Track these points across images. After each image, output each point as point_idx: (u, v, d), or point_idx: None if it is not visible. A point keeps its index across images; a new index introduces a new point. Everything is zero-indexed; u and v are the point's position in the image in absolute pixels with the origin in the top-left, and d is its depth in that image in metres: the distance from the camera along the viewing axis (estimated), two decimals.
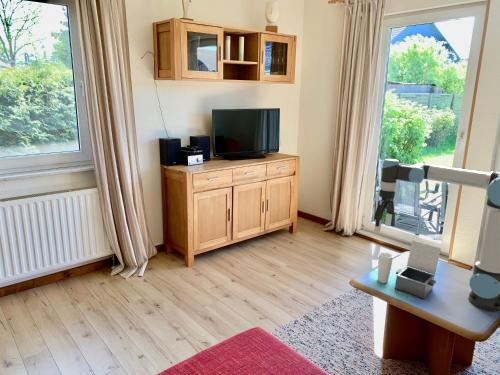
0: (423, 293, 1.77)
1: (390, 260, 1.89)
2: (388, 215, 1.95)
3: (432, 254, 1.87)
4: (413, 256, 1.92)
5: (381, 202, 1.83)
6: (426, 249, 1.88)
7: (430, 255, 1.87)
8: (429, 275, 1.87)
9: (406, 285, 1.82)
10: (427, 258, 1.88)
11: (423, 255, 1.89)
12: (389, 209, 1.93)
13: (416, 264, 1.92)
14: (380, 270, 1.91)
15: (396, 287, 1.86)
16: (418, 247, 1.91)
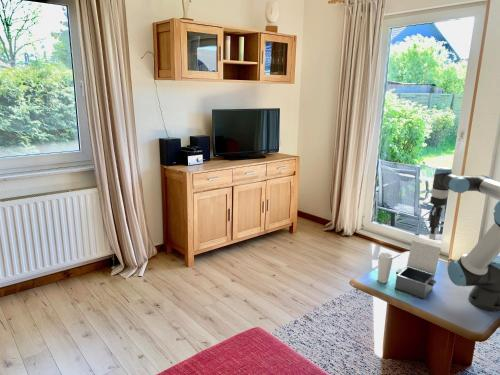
0: (423, 293, 1.77)
1: (390, 260, 1.89)
2: None
3: (432, 254, 1.87)
4: (413, 256, 1.92)
5: (433, 213, 1.88)
6: (426, 249, 1.88)
7: (430, 255, 1.87)
8: (429, 275, 1.87)
9: (406, 285, 1.82)
10: (427, 258, 1.88)
11: (423, 255, 1.89)
12: None
13: (416, 264, 1.92)
14: (380, 270, 1.91)
15: (396, 287, 1.86)
16: (418, 247, 1.91)
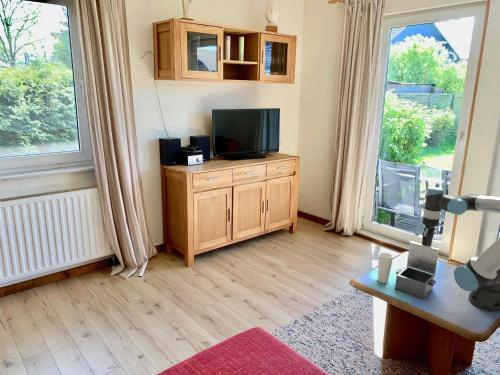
0: (423, 293, 1.77)
1: (390, 260, 1.89)
2: None
3: (431, 255, 1.85)
4: (413, 257, 1.92)
5: (425, 235, 1.84)
6: (424, 250, 1.87)
7: (429, 256, 1.86)
8: (429, 275, 1.87)
9: (406, 285, 1.82)
10: (426, 259, 1.87)
11: (422, 256, 1.88)
12: None
13: (416, 264, 1.91)
14: (380, 270, 1.91)
15: (396, 287, 1.86)
16: (416, 248, 1.89)
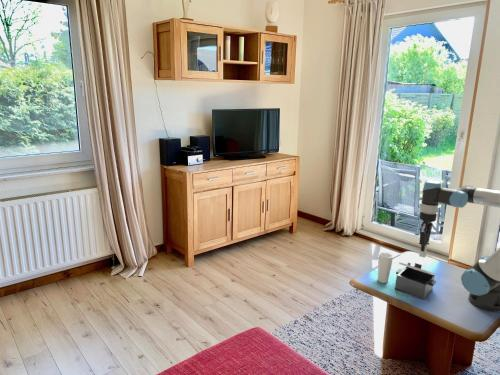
0: (423, 293, 1.77)
1: (390, 260, 1.89)
2: None
3: None
4: None
5: (423, 230, 1.78)
6: None
7: None
8: (429, 275, 1.87)
9: (406, 285, 1.82)
10: None
11: None
12: None
13: None
14: (380, 270, 1.91)
15: (396, 287, 1.86)
16: None
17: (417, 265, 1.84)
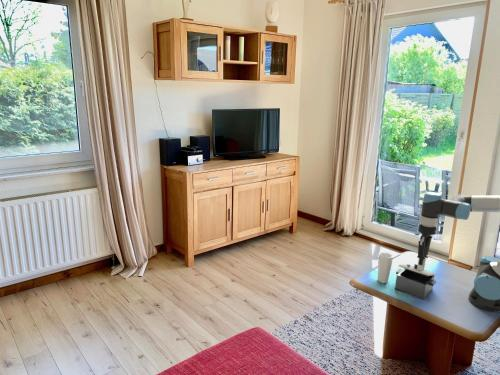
0: (423, 293, 1.77)
1: (390, 260, 1.89)
2: None
3: None
4: None
5: (421, 243, 1.71)
6: None
7: None
8: None
9: (406, 285, 1.82)
10: None
11: None
12: None
13: None
14: (380, 270, 1.91)
15: (396, 287, 1.86)
16: (407, 268, 1.84)
17: None
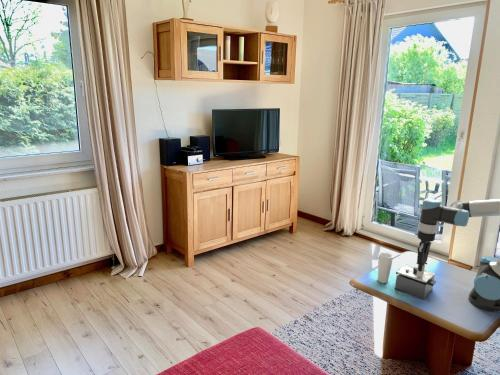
0: (423, 293, 1.77)
1: (390, 260, 1.89)
2: None
3: None
4: None
5: (421, 250, 1.71)
6: None
7: None
8: None
9: (406, 285, 1.82)
10: None
11: None
12: None
13: None
14: (380, 270, 1.91)
15: (396, 287, 1.86)
16: None
17: (415, 271, 1.84)
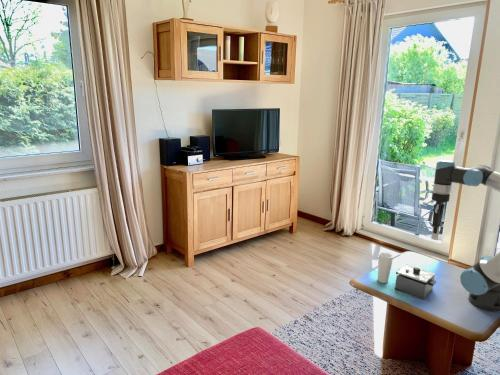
0: (423, 293, 1.77)
1: (390, 260, 1.89)
2: None
3: None
4: None
5: (436, 211, 1.72)
6: None
7: None
8: None
9: (406, 285, 1.82)
10: None
11: None
12: (439, 217, 1.78)
13: None
14: (380, 270, 1.91)
15: (396, 287, 1.86)
16: None
17: (415, 271, 1.84)
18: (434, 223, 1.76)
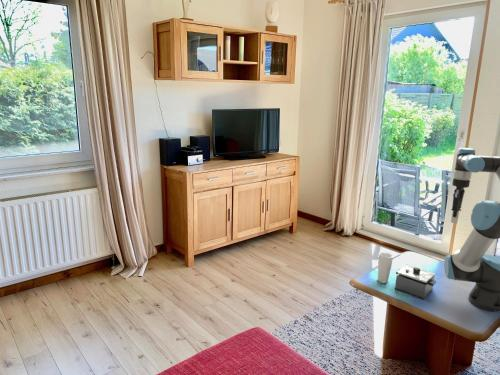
0: (423, 293, 1.77)
1: (390, 260, 1.89)
2: None
3: None
4: None
5: (456, 195, 1.83)
6: None
7: None
8: None
9: (406, 285, 1.82)
10: None
11: None
12: None
13: None
14: (380, 270, 1.91)
15: (396, 287, 1.86)
16: None
17: (415, 271, 1.84)
18: (454, 207, 1.87)
